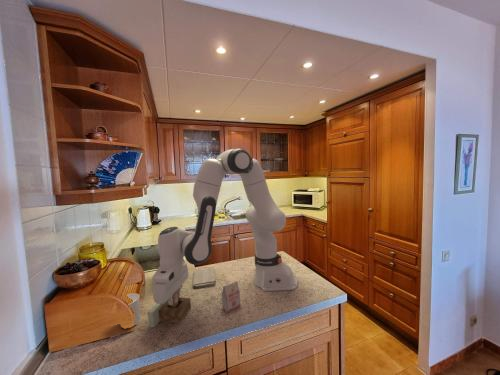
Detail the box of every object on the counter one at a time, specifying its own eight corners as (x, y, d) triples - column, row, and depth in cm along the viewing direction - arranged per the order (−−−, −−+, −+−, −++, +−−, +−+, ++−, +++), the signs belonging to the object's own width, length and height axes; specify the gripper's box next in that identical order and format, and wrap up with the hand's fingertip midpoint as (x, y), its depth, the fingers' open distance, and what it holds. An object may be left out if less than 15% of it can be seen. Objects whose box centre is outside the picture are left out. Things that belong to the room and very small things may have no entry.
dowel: (180, 308, 90) (178, 289, 89) (176, 312, 87) (175, 293, 86) (174, 307, 90) (172, 289, 90) (170, 312, 88) (168, 293, 87)
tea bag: (222, 307, 92) (221, 285, 91) (235, 301, 96) (234, 279, 95) (226, 311, 89) (225, 288, 88) (240, 305, 93) (239, 283, 92)
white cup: (127, 316, 89) (125, 293, 88) (145, 316, 88) (143, 293, 88) (113, 330, 82) (111, 305, 81) (133, 331, 81) (130, 305, 80)
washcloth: (192, 290, 107) (192, 284, 107) (193, 274, 124) (192, 269, 124) (216, 286, 110) (216, 280, 110) (214, 271, 127) (213, 265, 127)
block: (191, 308, 92) (190, 298, 92) (180, 323, 84) (179, 312, 83) (171, 306, 94) (171, 296, 94) (159, 321, 85) (158, 310, 85)
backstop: (176, 301, 98) (175, 289, 97) (153, 327, 82) (152, 312, 81) (172, 301, 98) (170, 288, 97) (149, 327, 82) (147, 312, 82)
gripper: (177, 257, 98) (180, 286, 99) (148, 280, 78) (152, 316, 79) (190, 257, 97) (193, 287, 98) (164, 281, 77) (167, 317, 78)
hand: (174, 300), depth 88 cm, fingers open, 3 cm apart
